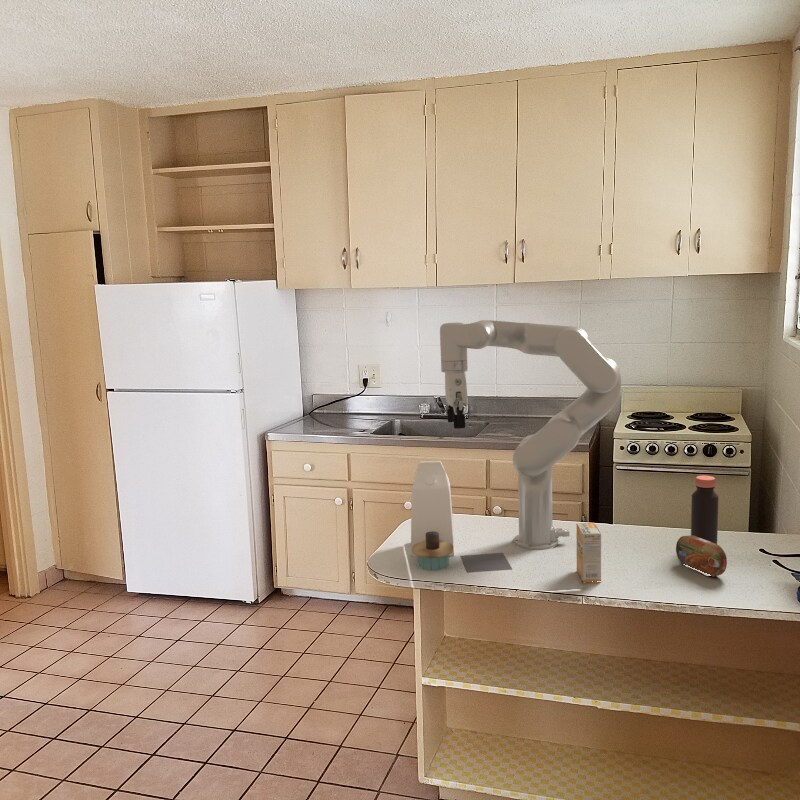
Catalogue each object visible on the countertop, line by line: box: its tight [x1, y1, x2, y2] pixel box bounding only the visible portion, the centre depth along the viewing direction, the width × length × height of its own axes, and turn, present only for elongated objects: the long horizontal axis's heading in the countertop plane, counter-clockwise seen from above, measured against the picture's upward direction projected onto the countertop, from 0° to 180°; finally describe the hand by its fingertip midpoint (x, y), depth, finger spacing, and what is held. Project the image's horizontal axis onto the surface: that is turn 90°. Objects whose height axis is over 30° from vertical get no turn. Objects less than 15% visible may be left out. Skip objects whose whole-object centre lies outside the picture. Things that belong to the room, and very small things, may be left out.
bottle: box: [690, 475, 719, 545], centre depth 207 cm, size 7×7×20 cm
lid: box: [412, 531, 453, 558], centre depth 203 cm, size 11×11×5 cm
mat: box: [459, 552, 513, 573], centre depth 204 cm, size 12×12×1 cm
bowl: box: [417, 555, 450, 571], centre depth 204 cm, size 8×8×4 cm
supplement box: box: [576, 522, 602, 583], centre depth 192 cm, size 8×5×13 cm, turn 178°
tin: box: [675, 534, 728, 578], centre depth 193 cm, size 15×3×8 cm, turn 23°
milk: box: [410, 460, 455, 557], centre depth 214 cm, size 12×12×26 cm
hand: (456, 424), depth 219 cm, fingers open, 9 cm apart
